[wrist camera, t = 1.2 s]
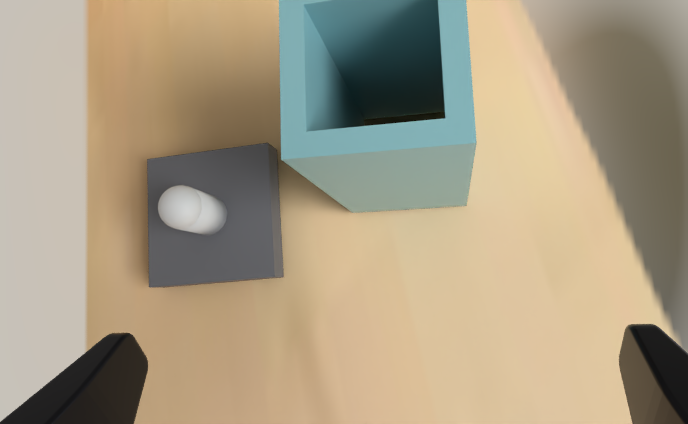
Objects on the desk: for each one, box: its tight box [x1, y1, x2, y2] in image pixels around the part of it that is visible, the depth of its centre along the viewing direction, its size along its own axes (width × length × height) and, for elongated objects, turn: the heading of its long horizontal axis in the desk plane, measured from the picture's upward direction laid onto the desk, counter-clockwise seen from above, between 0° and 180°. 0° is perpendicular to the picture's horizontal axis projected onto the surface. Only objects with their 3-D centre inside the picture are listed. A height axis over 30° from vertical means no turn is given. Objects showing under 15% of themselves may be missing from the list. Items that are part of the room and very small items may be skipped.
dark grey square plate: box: [147, 143, 284, 287], centre depth 22 cm, size 6×6×4 cm
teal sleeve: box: [279, 0, 476, 213], centre depth 18 cm, size 5×5×10 cm
